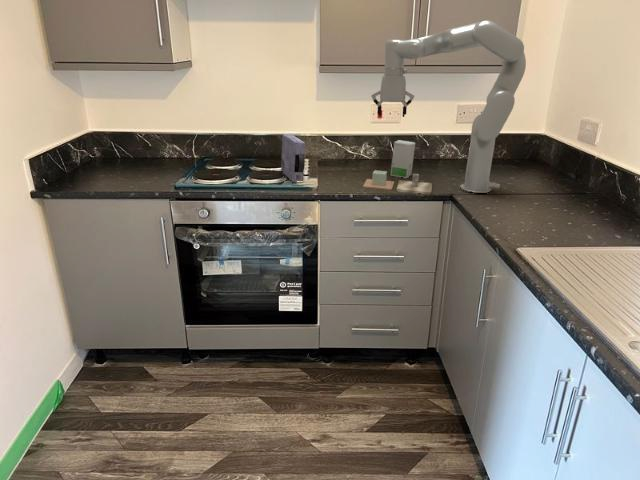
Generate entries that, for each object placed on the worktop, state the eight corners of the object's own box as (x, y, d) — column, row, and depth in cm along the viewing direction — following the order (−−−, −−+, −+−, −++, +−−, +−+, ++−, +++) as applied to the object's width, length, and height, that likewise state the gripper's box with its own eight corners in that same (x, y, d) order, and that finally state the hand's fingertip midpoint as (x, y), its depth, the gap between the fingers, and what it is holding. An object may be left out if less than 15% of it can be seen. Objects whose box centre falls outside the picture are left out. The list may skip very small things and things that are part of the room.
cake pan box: (305, 183, 211) (306, 141, 204) (294, 184, 209) (294, 142, 202) (291, 172, 227) (291, 133, 221) (280, 172, 226) (280, 133, 219)
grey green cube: (386, 182, 213) (386, 171, 211) (384, 186, 208) (385, 174, 206) (373, 181, 214) (374, 170, 212) (371, 184, 209) (372, 173, 207)
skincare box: (390, 176, 226) (393, 141, 220) (395, 173, 232) (398, 139, 226) (407, 178, 223) (411, 144, 217) (412, 175, 228) (415, 141, 222)
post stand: (431, 185, 213) (433, 171, 211) (430, 194, 201) (432, 180, 199) (399, 182, 216) (400, 169, 214) (396, 191, 204) (397, 177, 201)
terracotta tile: (394, 182, 216) (394, 181, 216) (391, 190, 205) (391, 188, 205) (366, 180, 218) (367, 178, 218) (362, 187, 207) (362, 186, 207)
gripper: (416, 72, 201) (413, 115, 207) (373, 71, 204) (371, 114, 210) (415, 73, 194) (412, 118, 200) (371, 73, 197) (369, 116, 203)
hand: (391, 116), depth 205 cm, fingers open, 9 cm apart
